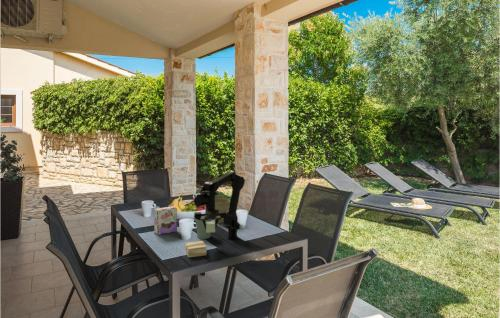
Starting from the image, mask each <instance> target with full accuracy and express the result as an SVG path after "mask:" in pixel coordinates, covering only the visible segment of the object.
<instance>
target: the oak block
mask: <svg viewBox="0 0 500 318" xmlns="http://www.w3.org/2000/svg"><path fill="white" fill-rule="evenodd" d="M184 245H185V246H184V247H185V253H186V255H187V257H188V258H193V257H194V258H195V257H202V256H207V245H206V244H205V242H204V240H200V241H191V242H185V243H184Z"/></svg>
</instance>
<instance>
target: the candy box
mask: <svg viewBox="0 0 500 318" xmlns="http://www.w3.org/2000/svg"><path fill="white" fill-rule="evenodd" d="M177 209H178V208H177V207H176V206H174V205H172V206H166V207H160V208H159V207H158V208H153V212H154V213H153V215H154V216H153V217H154V218H153V219H154V220H153V221H154V223H153V224H154V228H153V229H154V231H153V232H154V234H156V236H160V235H165V234H166V235H167V234H170V233H175V232H178V210H177Z"/></svg>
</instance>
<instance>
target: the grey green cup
mask: <svg viewBox="0 0 500 318" xmlns="http://www.w3.org/2000/svg"><path fill="white" fill-rule="evenodd" d="M194 220H195V226H196V238H197V239H204V240H205V239H209V238H211V235H212V232H210V233H206V230H205V226H204V224H203V221H202V220H200V219H194ZM205 222H212V219H207V217H205Z"/></svg>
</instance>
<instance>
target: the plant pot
mask: <svg viewBox="0 0 500 318" xmlns="http://www.w3.org/2000/svg"><path fill="white" fill-rule="evenodd" d="M230 200H231V199H229V198H222V197H221V198H220V197H219V198H216V197H215V210H219V211H225V212H226V213H228V211H229V206H230ZM223 219H224V218H221V219H220V220H219V221H218V223H217V224H222V223H223V224H224V220H223ZM213 221H214V222H215V219H213Z"/></svg>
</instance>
